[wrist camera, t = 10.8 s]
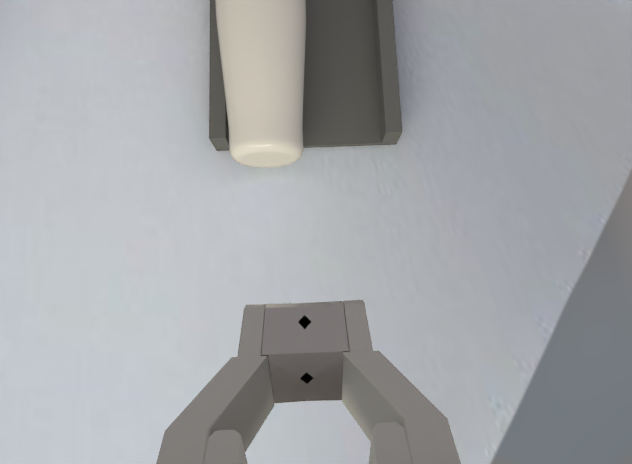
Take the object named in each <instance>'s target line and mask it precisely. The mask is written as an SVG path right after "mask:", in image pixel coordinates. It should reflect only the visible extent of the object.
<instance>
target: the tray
mask: <svg viewBox="0 0 632 464" xmlns="http://www.w3.org/2000/svg"><path fill="white" fill-rule="evenodd" d="M401 133H402V123H401V110H400V97H399V84H398V70H397V57H396V44H395V31H394V18H393V4H392V0H306V45H305V70H304V97H303V148H306V147H334V146H362V145H390V144H396V143H397V141H398V139H399V137H400V135H401ZM209 139H210V140H211V142H212V144H213V145H214V147H215V148H216V150H217V151H221V150H229V128H228V118H227V109H226V100H225V91H224V82H223V73H222V65H221V56H220V48H219V40H218V31H217V21H216V8H215V0H210V111H209Z"/></svg>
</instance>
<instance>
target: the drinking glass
mask: <svg viewBox="0 0 632 464" xmlns="http://www.w3.org/2000/svg"><path fill="white" fill-rule="evenodd" d="M215 8H216V21H217V31H218V40H219V48H220V56H221V65H222V73H223V82H224V91H225V100H226V109H227V118H228V128H229V151H230V155H231V157H232V158H233V159H234V160H235V161H236V162H238V163H240V164H243V165H246V166H251V167H264V168H267V167H279V166H285V165H289V164H292V163H294V162H296V161H297V160H299V159H300V158H301V156H302V154H303V97H304V70H305V45H306V0H215Z"/></svg>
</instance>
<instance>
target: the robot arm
mask: <svg viewBox="0 0 632 464" xmlns="http://www.w3.org/2000/svg"><path fill="white" fill-rule="evenodd" d="M321 400H342V402H343V404H344V405H345V406H346V408H347V409H348V411H349V412H350V413H351V415H352V416H353V418H354V419H355V420H356V422H357V423H358V425H359V426H360V428H361V429H362V430H363V432H364V433H365V435H366V436H367V437H368V439H369V440H370V442H371V448H370V458H369V464H461V463H460V460H459V456H458V453H457V450H456V446H455V443H454V440H453V436H452V433H451V430H450V427H449V423H448V420H447V418H446V417H445V416H444V415H443V414H442V413H441V412H440V411H439V410H438V409H437V408H436V407H435V406H434V405H433V404H432V403H431V402H430V401H429V400H428V399H427V398H426V397H425V396H424V395H423V394H422V393H421V392H420V391H419V390H418V389H417V388H416V387H415V386H414V385H413V384H412V383H411V382H410V381H409V380H408V379H407V378H406V377H405V376H404V375H403V374H402V373H401V372H400V371H399V370H398V369H397V368H396V367H395V366H394V365H393V364H392V363H391V362H390V361H389V360H388V359H387V358H386V357H385V356H384V355H383V354H382V353H381V352H380V351H373V349H372V343H371V338H370V332H369V327H368V321H367V315H366V310H365V304H364V302H363V300H352V301H343V302H342V301H333V302H315V303H297V304H266V305H246V306H245V309H244V313H243V321H242V328H241V335H240V342H239V350H238V357H231V359H230V360H229V361H228V362H227V363H226V364H225V365H224V366H223V367H222V369H221V370H220V371H219V372H218V373H217V374H216V375H215V376H214V377H213V378H212V380H211V381H210V382H209V383H208V384H207V385H206V386H205V387H204V388H203V390H202V391H201V392H200V393H199V394H198V395H197V396H196V397H195V398H194V400H193V401H192V402H191V403H190V404H189V405H188V406H187V407H186V408H185V409H184V411H183V412H182V413H181V414H180V415H179V416H178V417H177V418H176V419H175V421H174V422H173V423H172V424H171V425H170V426H169V427H168V428H167V429H166V431H165V433H164V437H163V441H162V444H161V448H160V452H159V456H158V460H157V463H156V464H247V459H246V455H245V452H246V450H247V448H248V447H249V445H250V444H251V442H252V440H253V439H254V437H255V436H256V434H257V432H258V431H259V429H260V428H261V426H262V424H263V423H264V421H265V419H266V418H267V416H268V415H269V413H270V411H271V410H272V408H273V407H274V403H284V402H298V401H321Z"/></svg>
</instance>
